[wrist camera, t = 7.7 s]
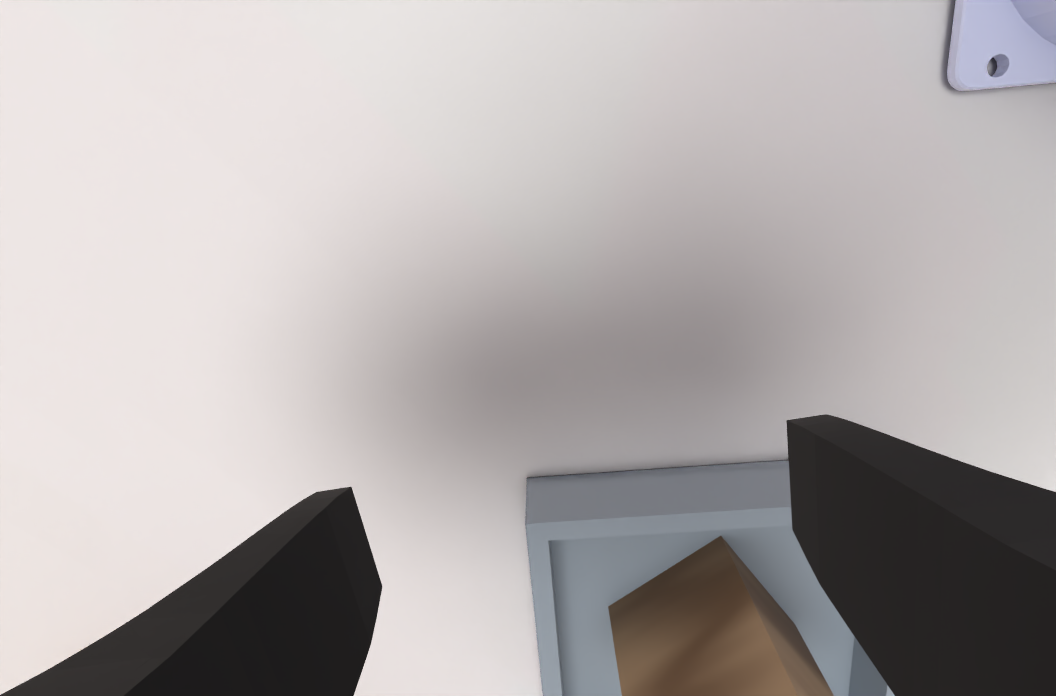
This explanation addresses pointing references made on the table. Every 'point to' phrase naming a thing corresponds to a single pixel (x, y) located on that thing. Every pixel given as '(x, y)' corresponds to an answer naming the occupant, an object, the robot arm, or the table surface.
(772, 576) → the tray
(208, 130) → the table surface
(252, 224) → the table surface
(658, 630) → the walnut block
